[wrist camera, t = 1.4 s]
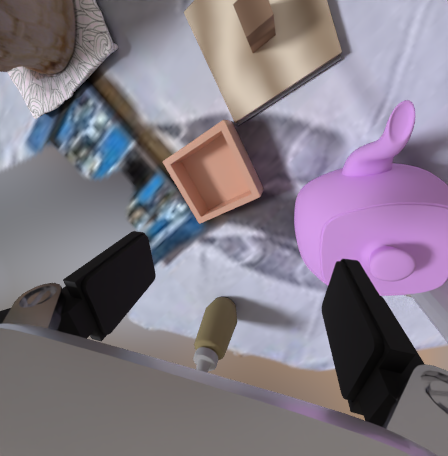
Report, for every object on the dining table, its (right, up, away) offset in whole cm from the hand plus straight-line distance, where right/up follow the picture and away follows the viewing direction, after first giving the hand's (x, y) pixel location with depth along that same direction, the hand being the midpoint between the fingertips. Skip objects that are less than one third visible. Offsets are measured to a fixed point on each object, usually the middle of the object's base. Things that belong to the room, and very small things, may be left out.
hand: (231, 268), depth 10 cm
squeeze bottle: (0, -17, +40) cm, 43 cm away
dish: (-1, +12, +25) cm, 28 cm away
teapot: (+20, +5, +22) cm, 30 cm away
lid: (+4, +27, +16) cm, 32 cm away
